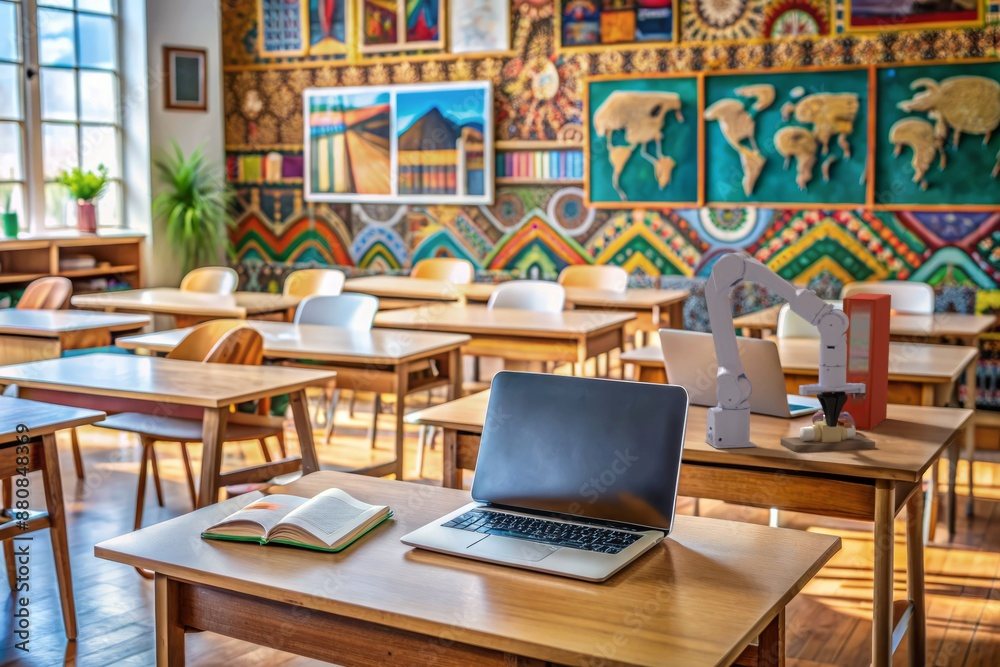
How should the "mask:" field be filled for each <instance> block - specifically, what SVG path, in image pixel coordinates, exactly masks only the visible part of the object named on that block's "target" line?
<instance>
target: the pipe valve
mask: <svg viewBox="0 0 1000 667" xmlns="http://www.w3.org/2000/svg"><path fill="white" fill-rule="evenodd" d="M856 430H857V429H855V427H854V426H853V425H852V428H842V427H840V426H836V427H829V426H827V424H826V422H824V421H816V422H814V425H813V424H810V425H809V426H801V427H800V429H799V437H800V439H801V440H802V441H813V442H818V441H821V442H840V441H841V440H846V439H854V438H855V435H857V434H856Z"/></svg>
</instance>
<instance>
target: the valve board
mask: <svg viewBox="0 0 1000 667" xmlns="http://www.w3.org/2000/svg"><path fill="white" fill-rule="evenodd" d="M779 442H780V445H781V446H782V447H785V448H786V449H788V450H790V451H792V452H794V453H798V452H799V453H802V452H823V451H824V452H825V451H843V450H844V451H845V450H846V451H847V450H849V451H850V450H866V449H867V450H868V449H876V441H874V440H872V439H870V438H867V437H865V436H863V435H860V434H856V435H855V438H854V439H846V440H841V441H840V442H821V441H818V442H813V441H802V440H801V439H800V436H798V437H797V436H796V437H780V441H779Z"/></svg>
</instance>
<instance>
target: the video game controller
mask: <svg viewBox="0 0 1000 667" xmlns="http://www.w3.org/2000/svg"><path fill="white" fill-rule="evenodd" d="M823 415H824V411H823V409H819V410H818V411H816V412H815V413H814V414H813V415H812V418H811V422H812V423H813V424H812V425H814V422H816V421H823ZM841 418H842V419H844V420H847V421H849V422H852V425H853V426H854V427H855V422H854V420H853V418H852V416H851V415H850V414H849V413H848V412H844V413H843V412H840V415H839V419H841Z"/></svg>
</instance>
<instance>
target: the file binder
mask: <svg viewBox="0 0 1000 667" xmlns="http://www.w3.org/2000/svg"><path fill="white" fill-rule="evenodd" d="M891 305H892V294H888V293H887V294H886V293H861V292H860V293H857V294H853V295H849V296H848V297H847V296H846V297H844V298H842V311H843V312H844V313H845V314H846V315H847V317H848V319H849V326H848V329H847V330H846V331H845V332H844V333H846V337H847V340H846V344H847V361H846V383H862V384H865V393H845V395H848V399H847V401H846V403H845V404H844V406H843V408H842V410H841V412H843V413H844V412H848V413H849V414H850V415H851V416H852V418H853V420H854V422H855V430H865V431H866V430H867V431H871V430H873V429H874V428H875V427H876V426H878V425H879V424H880V423H882V422H883V421H884V420H885V419H886V418H887V413H888V385H889V359H890V332H891V331H890V330H891V313H892V312H891V307H892V306H891ZM844 333H843V334H844ZM843 334H842V335H843Z"/></svg>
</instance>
